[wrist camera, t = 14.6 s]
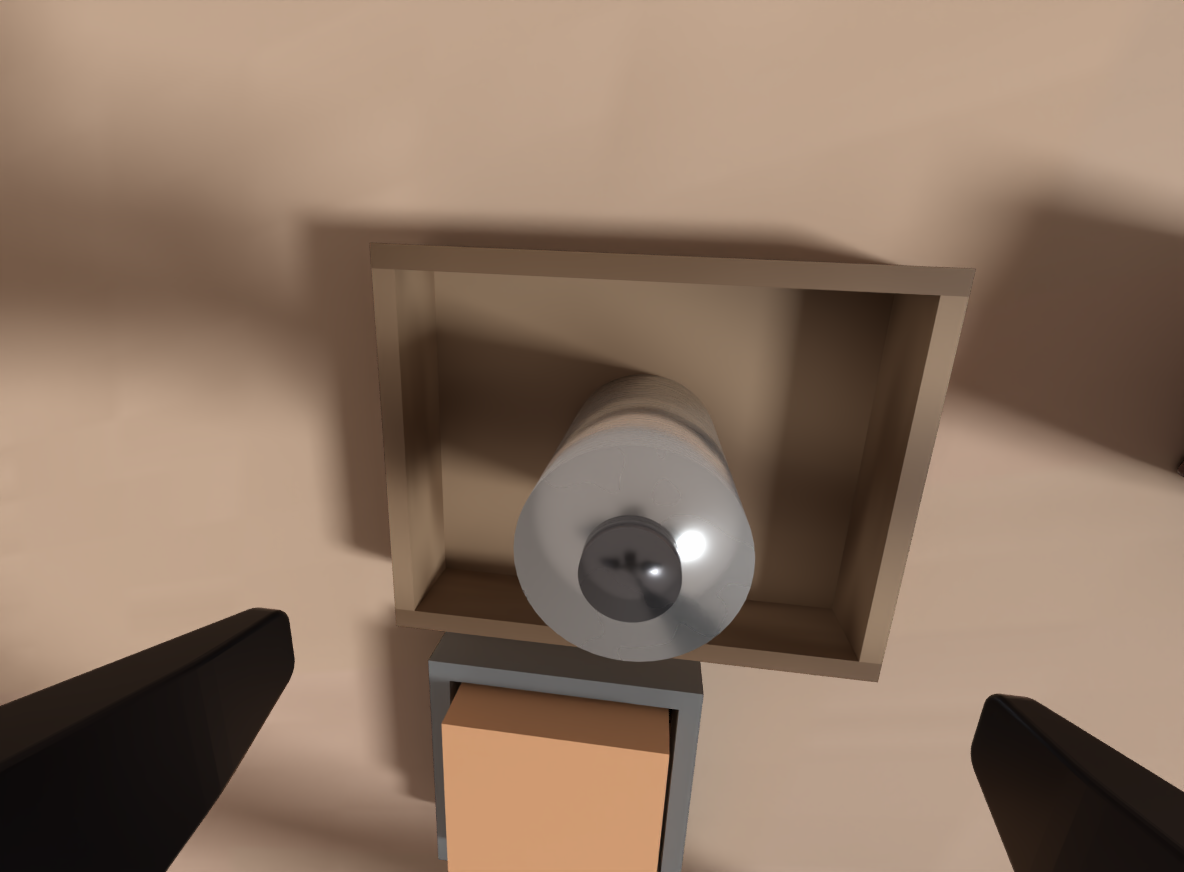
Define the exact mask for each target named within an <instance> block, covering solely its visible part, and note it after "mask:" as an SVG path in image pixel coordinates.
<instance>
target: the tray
mask: <svg viewBox="0 0 1184 872" xmlns="http://www.w3.org/2000/svg"><path fill="white" fill-rule="evenodd" d="M370 257H371V272H372V286H373V300H374V314H375V329H376V343H377V357H378V371H379V386H380V400H381V414H382V428H383V443H384V457H385V471H386V485H387V500H388V514H389V528H390V542H391V557H392V571H393V585H394V599H395V614H396V626H402V627H411V628H419V629H428V630H436V631H445V632H453V633H462V634H470V635H479V636H487V637H496V638H504V639H513V640H521V641H530V642H538V643H547V644H555V645H564V646H573V647H577V646H576V645H574V644H572V643H570V642H568V641H567V640H565V639H564V638H563V637H561V636H560V635H558V634H557V633H556V632H555V631H553V630H552V629H551V628H550V627H549V626H548V625H547V624H546V623H545V622H544V621H543V620H542V619H541V618H540V616H539V615H538V614H537V613H536V612H535V610H534V609H533V607H532V606H531V604H530V603H529V601H528V600H527V598H526V596H525V594H524V592H523V590H522V588H521V585H520V582H519V579H518V576H517V572H516V567H515V562H514V536H515V530H516V526H517V522H518V519H519V516H520V513H521V511H522V508H523V506H524V505H525V503H526V501H527V499H528V497H529V496H530V494H531V492H532V491H533V489H534V487H535V486H536V484H537V482H538V480H539V479H540V477H541V475H542V474H543V472H544V470H545V469H546V467H547V465H548V463H549V462H550V460H551V458H552V457H553V455H554V453H555V452H556V450H557V448H558V446H559V445H560V443H561V441H562V440H563V438H564V436H565V435H566V433H567V431H568V429H569V428H570V426H571V424H572V423H573V421H574V419H575V418H576V416H577V414H578V412H579V411H580V409H581V407H582V406H583V404H584V403H585V402H586V400H587V399H588V398H589V397H590V396H591V395H592V394H593V393H594V392H595V391H596V390H598V389H599V388H600V387H602V386H603V385H605V384H607V383H609V382H610V381H613V380H615V379H618V378H621V377H625V376H628V375H636V374H650V375H658V376H662V377H665V378H668V379H671V380H673V381H676V382H678V383H679V384H681V385H683V386H685V387H686V388H687V389H689V390H690V391H691V392H693V393H694V394H695V395H696V396H697V397H698V398H699V399H700V401H701V402H702V403H703V405H704V406H705V407H706V409H707V411H708V413H709V415H710V417H711V419H712V422H713V425H714V427H715V430H716V433H717V436H718V439H719V442H720V444H721V447H722V450H723V453H724V456H725V458H726V461H727V464H728V467H729V470H730V472H731V475H732V478H733V481H734V484H735V487H736V489H737V492H738V495H739V498H740V501H741V503H742V506H743V509H744V512H745V515H746V517H747V520H748V523H749V526H750V529H751V533H752V537H753V542H754V550H755V567H754V575H753V579H752V584H751V588H750V590H749V593H748V595H747V598H746V600H745V602H744V604H743V605H742V607H741V609H740V611H739V612H738V614H737V615H736V616H735V618H734V619H733V620H732V621H731V623H730V624H729V625H728V626H727V627H726V628H725V629H724V630H723V631H722V632H721V633H720V634H718V635H717V636H716V637H714V638H713V639H712V640H710V641H709V642H707V643H706V644H704V645H702V646H700V647H699V648H697V649H695V650H692V651H690V652H688V653H685V654H683V655H680V656H676V657H672V658H675V659H683V660H692V661H700V662H709V663H717V664H726V665H734V666H743V667H751V668H760V669H768V670H777V671H785V672H794V673H802V674H811V675H819V676H828V677H837V678H845V679H854V680H862V681H871V682H878V679H879V675H880V670H881V666H882V662H883V658H884V654H885V649H886V645H887V641H888V637H889V633H890V628H891V624H892V620H893V616H894V611H895V607H896V603H897V599H898V595H899V590H900V586H901V582H902V578H903V574H904V569H905V565H906V561H907V557H908V553H909V548H910V544H911V540H912V536H913V532H914V527H915V523H916V519H917V515H918V510H919V506H920V502H921V498H922V494H923V489H924V485H925V481H926V477H927V473H928V468H929V464H930V460H931V456H932V452H933V447H934V443H935V439H936V435H937V431H938V426H939V422H940V418H941V414H942V409H943V405H944V401H945V397H946V393H947V388H948V384H949V380H950V376H951V372H952V367H953V363H954V359H955V355H956V351H957V346H958V342H959V338H960V334H961V330H962V325H963V321H964V317H965V313H966V308H967V304H968V300H969V296H970V292H971V287H972V283H973V279H974V275H975V271H976V269H973V268H950V267H926V266H903V265H879V264H856V263H832V262H809V261H786V260H762V259H739V258H715V257H692V256H668V255H645V254H622V253H598V252H575V251H551V250H528V249H504V248H481V247H457V246H434V245H411V244H387V243H370Z"/></svg>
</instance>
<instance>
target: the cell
mask: <svg viewBox="0 0 1184 872" xmlns="http://www.w3.org/2000/svg"><path fill="white" fill-rule="evenodd" d="M514 562H515V567H516V572H517V576H518V579H519V582H520V585H521V588H522V590H523V592H524V594H525V596H526V598H527V600H528V601H529V603H530V604H531V606H532V607H533V609H534V610H535V612H536V613H537V614H538V615H539V616H540V618H541V619H542V620H543V621H544V622H545V623H546V624H547V625H548V626H549V627H550V628H551V629H552V630H553V631H555V632H556V633H557V634H558V635H560V636H561V637H563V638H564V639H565V640H567V641H568V642H570V643H572V644H574V645H576V646H577V647H579V648H581V649H583V650H586V651H588V652H591V653H593V654H596V655H599V656H603V657H606V658H610V659H616V660H622V661H634V662H645V661H657V660H663V659H669V658H672V657H676V656H680V655H683V654H685V653H688V652H690V651H692V650H695V649H697V648H699V647H700V646H702V645H704V644H706V643H707V642H709V641H710V640H712V639H713V638H714V637H716V636H717V635H718V634H720V633H721V632H722V631H723V630H724V629H725V628H726V627H727V626H728V625H729V624H730V623H731V621H732V620H733V619H734V618H735V616H736V615H737V614H738V612H739V611H740V609H741V607H742V605H743V604H744V602H745V600H746V598H747V595H748V593H749V590H750V588H751V584H752V579H753V575H754V567H755V550H754V542H753V537H752V533H751V529H750V526H749V523H748V520H747V517H746V515H745V512H744V509H743V506H742V503H741V501H740V498H739V495H738V492H737V489H736V487H735V484H734V481H733V478H732V475H731V472H730V470H729V467H728V464H727V461H726V458H725V456H724V453H723V450H722V447H721V444H720V442H719V439H718V436H717V433H716V430H715V427H714V425H713V422H712V419H711V417H710V415H709V413H708V411H707V409H706V407H705V406H704V405H703V403H702V402H701V401H700V399H699V398H698V397H697V396H696V395H695V394H694V393H693V392H691V391H690V390H689V389H687V388H686V387H685V386H683V385H681V384H679V383H678V382H676V381H673V380H671V379H668V378H665V377H662V376H658V375H650V374H636V375H628V376H625V377H621V378H618V379H615V380H613V381H610V382H609V383H607V384H605V385H603V386H602V387H600V388H599V389H598V390H596V391H595V392H594V393H593V394H592V395H591V396H590V397H589V398H588V399H587V400H586V402H585V403H584V404H583V406H582V407H581V409H580V411H579V412H578V414H577V416H576V418H575V419H574V421H573V423H572V424H571V426H570V428H569V429H568V431H567V433H566V435H565V436H564V438H563V440H562V441H561V443H560V445H559V446H558V448H557V450H556V452H555V453H554V455H553V457H552V458H551V460H550V462H549V463H548V465H547V467H546V469H545V470H544V472H543V474H542V475H541V477H540V479H539V480H538V482H537V484H536V486H535V487H534V489H533V491H532V492H531V494H530V496H529V497H528V499H527V501H526V503H525V505H524V506H523V508H522V511H521V513H520V516H519V519H518V522H517V526H516V530H515V536H514Z"/></svg>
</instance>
